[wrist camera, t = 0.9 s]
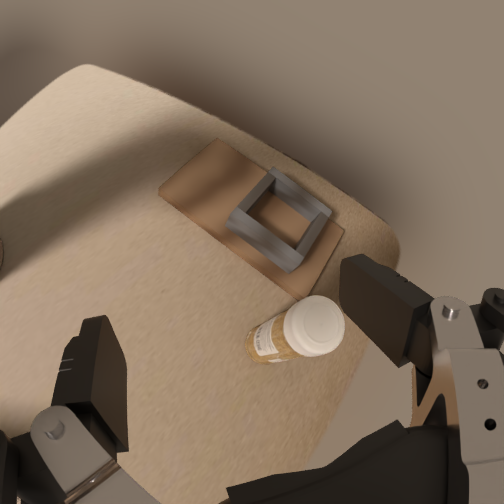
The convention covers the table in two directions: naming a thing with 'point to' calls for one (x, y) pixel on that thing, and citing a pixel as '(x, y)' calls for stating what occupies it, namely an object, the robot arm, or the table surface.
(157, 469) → the table surface
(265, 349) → the sprinkles bottle
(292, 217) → the board
